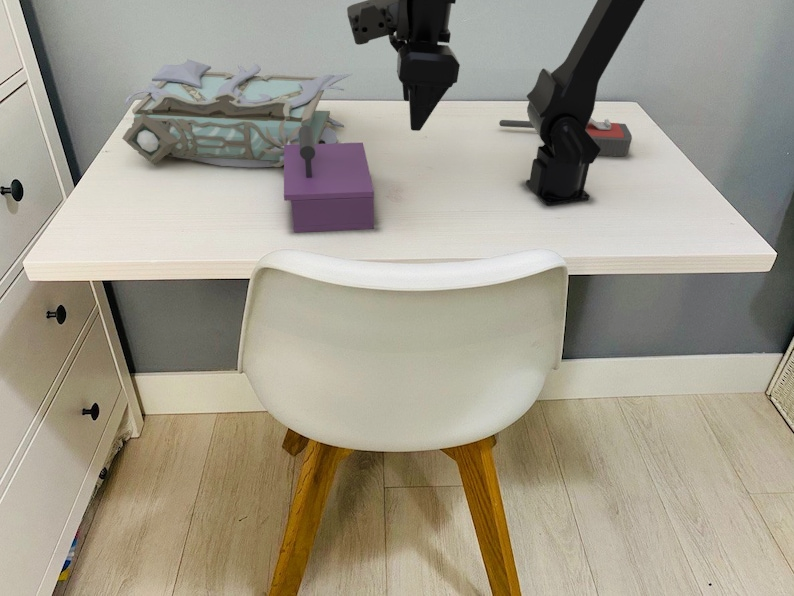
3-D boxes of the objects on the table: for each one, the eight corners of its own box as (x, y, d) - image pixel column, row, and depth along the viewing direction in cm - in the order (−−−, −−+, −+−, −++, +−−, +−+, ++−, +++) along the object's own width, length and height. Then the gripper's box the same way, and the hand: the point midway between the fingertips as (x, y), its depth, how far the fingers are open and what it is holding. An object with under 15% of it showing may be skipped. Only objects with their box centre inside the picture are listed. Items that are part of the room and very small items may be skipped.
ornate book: (122, 175, 91) (337, 180, 89) (102, 108, 85) (332, 112, 83) (176, 113, 109) (355, 116, 107) (162, 54, 103) (352, 56, 101)
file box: (293, 232, 79) (291, 200, 76) (292, 179, 89) (290, 150, 87) (373, 228, 80) (373, 197, 77) (363, 177, 91) (362, 148, 88)
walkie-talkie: (623, 134, 105) (497, 128, 105) (630, 107, 102) (501, 101, 102) (636, 158, 98) (501, 152, 98) (644, 130, 95) (505, 123, 96)
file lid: (284, 200, 76) (280, 161, 73) (284, 150, 87) (281, 113, 84) (373, 197, 77) (373, 158, 74) (362, 147, 88) (362, 111, 85)
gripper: (351, -49, 77) (344, 82, 86) (357, -11, 62) (347, 142, 72) (445, -39, 79) (427, 89, 88) (471, 0, 64) (447, 149, 73)
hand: (411, 114), depth 80 cm, fingers open, 9 cm apart
